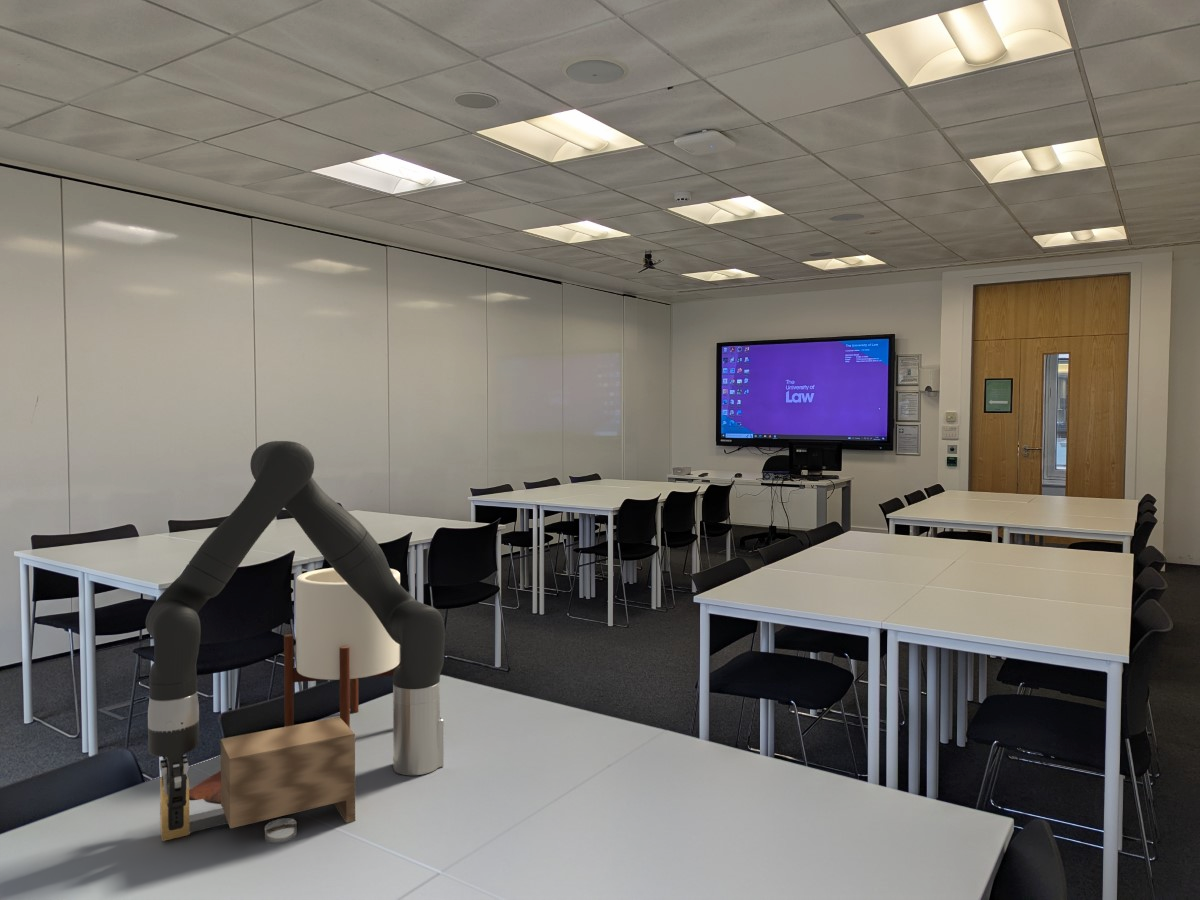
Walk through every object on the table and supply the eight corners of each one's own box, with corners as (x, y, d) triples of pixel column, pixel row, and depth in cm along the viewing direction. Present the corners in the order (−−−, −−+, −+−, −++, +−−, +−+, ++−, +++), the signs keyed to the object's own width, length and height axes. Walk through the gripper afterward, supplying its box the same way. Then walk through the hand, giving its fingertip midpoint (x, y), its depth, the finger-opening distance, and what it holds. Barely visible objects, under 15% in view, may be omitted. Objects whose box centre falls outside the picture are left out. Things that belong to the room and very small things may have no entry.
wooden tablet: (227, 807, 146) (227, 798, 146) (179, 802, 148) (179, 793, 148) (308, 750, 172) (308, 742, 172) (266, 746, 174) (266, 739, 174)
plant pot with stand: (421, 725, 185) (420, 571, 185) (343, 758, 166) (342, 587, 166) (354, 707, 197) (354, 563, 196) (275, 736, 178) (274, 576, 177)
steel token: (293, 827, 138) (293, 815, 138) (299, 839, 134) (299, 827, 134) (262, 834, 135) (262, 823, 135) (267, 847, 131) (267, 835, 131)
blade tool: (291, 800, 146) (291, 751, 146) (296, 808, 142) (295, 758, 142) (160, 830, 135) (159, 777, 134) (162, 841, 131) (161, 786, 131)
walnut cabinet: (339, 798, 148) (339, 716, 148) (355, 820, 140) (354, 733, 139) (221, 827, 137) (220, 738, 137) (230, 853, 129) (229, 758, 129)
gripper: (203, 729, 130) (204, 834, 130) (194, 704, 142) (195, 800, 142) (150, 739, 126) (152, 847, 126) (145, 712, 138) (146, 811, 138)
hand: (174, 822), depth 134 cm, fingers closed on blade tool, 4 cm apart
